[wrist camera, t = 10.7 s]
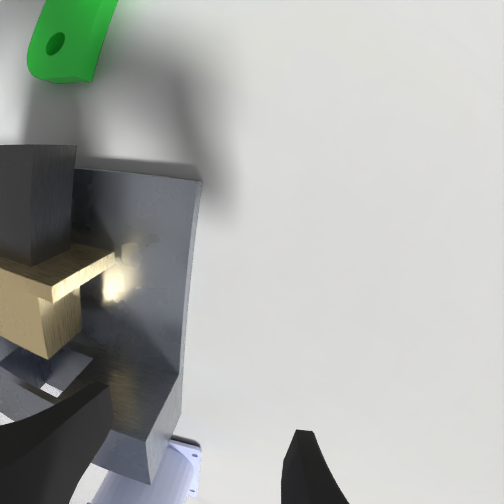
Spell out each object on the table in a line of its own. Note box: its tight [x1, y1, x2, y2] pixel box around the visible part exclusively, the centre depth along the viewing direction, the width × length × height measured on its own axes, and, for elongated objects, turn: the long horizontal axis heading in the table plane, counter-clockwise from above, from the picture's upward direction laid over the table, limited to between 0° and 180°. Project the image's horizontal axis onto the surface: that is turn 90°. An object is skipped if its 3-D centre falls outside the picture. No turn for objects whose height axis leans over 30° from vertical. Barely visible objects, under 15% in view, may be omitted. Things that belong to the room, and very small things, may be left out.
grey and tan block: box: [0, 145, 114, 359], centre depth 15 cm, size 11×9×6 cm
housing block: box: [0, 167, 202, 485], centre depth 17 cm, size 18×18×8 cm
